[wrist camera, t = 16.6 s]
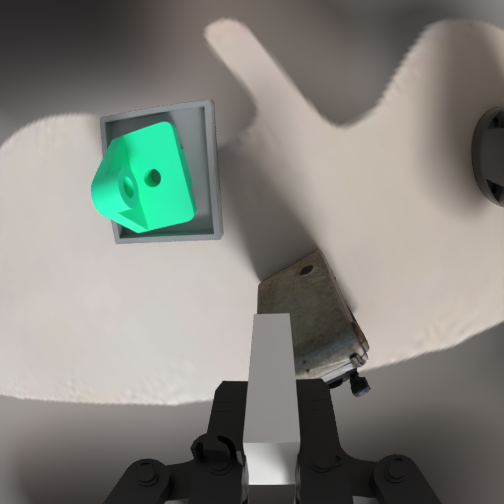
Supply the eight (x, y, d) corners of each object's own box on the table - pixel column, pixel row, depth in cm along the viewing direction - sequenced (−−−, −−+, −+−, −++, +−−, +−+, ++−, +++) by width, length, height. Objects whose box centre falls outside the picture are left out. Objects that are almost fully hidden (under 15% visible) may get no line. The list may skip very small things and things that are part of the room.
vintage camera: (308, 353, 46) (329, 462, 28) (254, 280, 42) (252, 392, 23) (364, 324, 44) (410, 426, 26) (318, 242, 40) (364, 338, 21)
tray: (214, 101, 34) (210, 99, 32) (223, 233, 40) (220, 239, 37) (109, 118, 35) (100, 118, 32) (123, 237, 41) (115, 243, 38)
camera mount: (200, 214, 38) (178, 241, 29) (146, 227, 39) (111, 256, 30) (176, 120, 34) (144, 115, 25) (121, 138, 35) (77, 143, 26)
